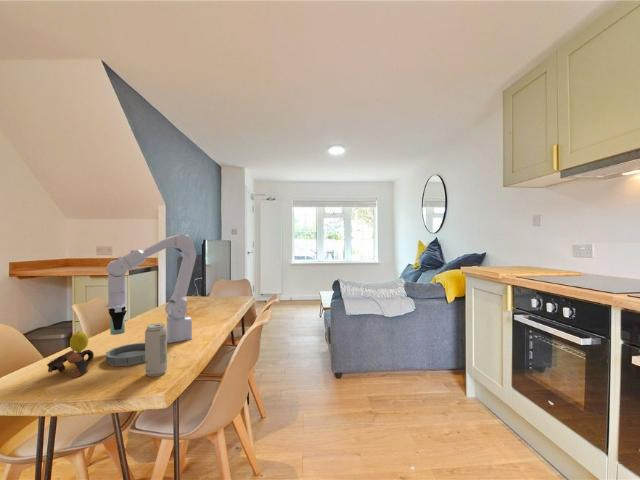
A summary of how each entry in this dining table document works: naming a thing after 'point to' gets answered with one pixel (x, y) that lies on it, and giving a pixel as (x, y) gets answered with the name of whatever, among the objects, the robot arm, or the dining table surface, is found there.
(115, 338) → the dining table surface
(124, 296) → the robot arm
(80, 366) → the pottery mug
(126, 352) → the tray
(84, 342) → the lemon
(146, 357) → the energy drink can
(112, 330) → the teal cup
